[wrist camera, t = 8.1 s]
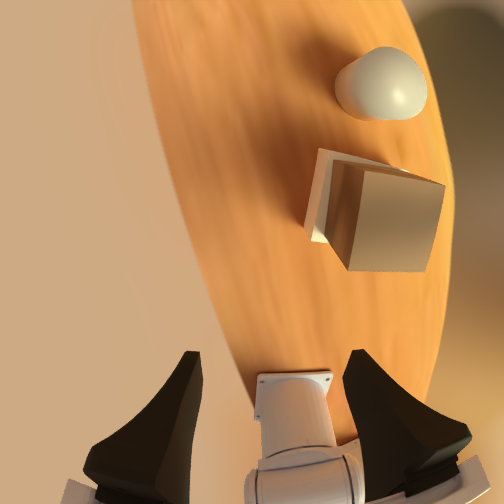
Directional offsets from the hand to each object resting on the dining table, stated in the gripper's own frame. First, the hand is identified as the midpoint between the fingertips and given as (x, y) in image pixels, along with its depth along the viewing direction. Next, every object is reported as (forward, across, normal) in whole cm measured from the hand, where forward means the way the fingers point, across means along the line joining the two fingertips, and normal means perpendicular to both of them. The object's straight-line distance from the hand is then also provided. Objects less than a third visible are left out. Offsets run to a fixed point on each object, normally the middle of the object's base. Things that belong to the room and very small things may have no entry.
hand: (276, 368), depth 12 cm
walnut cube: (+8, -6, -6) cm, 12 cm away
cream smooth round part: (+10, -6, -14) cm, 19 cm away
